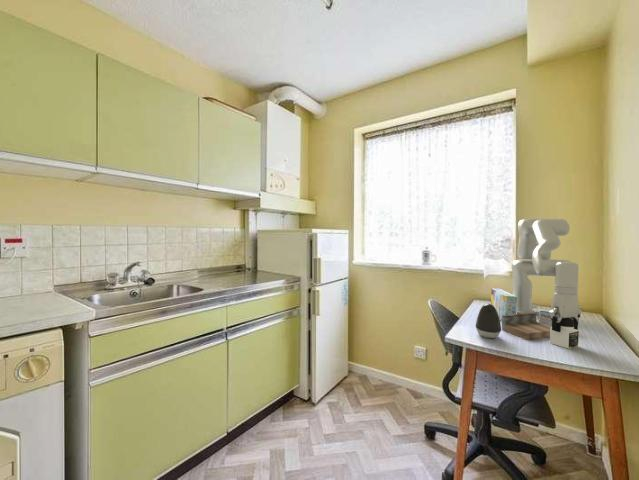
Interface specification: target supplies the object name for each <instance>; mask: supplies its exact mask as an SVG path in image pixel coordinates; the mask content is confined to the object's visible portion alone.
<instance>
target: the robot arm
mask: <svg viewBox="0 0 639 480" xmlns="http://www.w3.org/2000/svg"><path fill="white" fill-rule="evenodd" d="M517 229H518V231H517V232H518V234H519V238H518V245H517V250H516V251H517V252H516V254H517V257H518V258H520V259H515V260H513V261H512V263H511V271H512V295H514V296H517V309H516V314H521V313H532V312H534V313H535V310H533V309H538V306H537V304H532V301H533V281H531V280H530V279H529V276H531V277H532V276H533V277H554V293H553V295H552V298H551V305H550V311H549V315H550V318H551V321H552V330H553V331H557V332H561V323H559V322H560V321H561V319H562V318H572V319H573V320H574V329H576V330H579V321H580V317H581V314H582V312H583V311H582V309H581V308H580V306H579V296H578V295H579V270H580V268H579V264H578V263H577V262H573V261H571V260H565V259H552V258H551V257H552V251H554V250H556V249H558V248H560V245H561V240H560V237H562V236H566V235H568V234H569V232H570V224H569V223H568V221H567V220H566V219H564V218H523V219H521V220H519V221H518V224H517ZM556 317H558V319H557V318H556Z"/></svg>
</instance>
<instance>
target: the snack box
mask: <svg viewBox="0 0 639 480" xmlns="http://www.w3.org/2000/svg"><path fill="white" fill-rule="evenodd" d="M490 304H491V305H493V306H494V307H495V308H496V310H497V312H498V315H499V319H500V322H502V315H510V314H517V313H516V309H517V296H514V295H513V293H510V292H508V291H505V290H503V289H502V288H491V295H490Z"/></svg>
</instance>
